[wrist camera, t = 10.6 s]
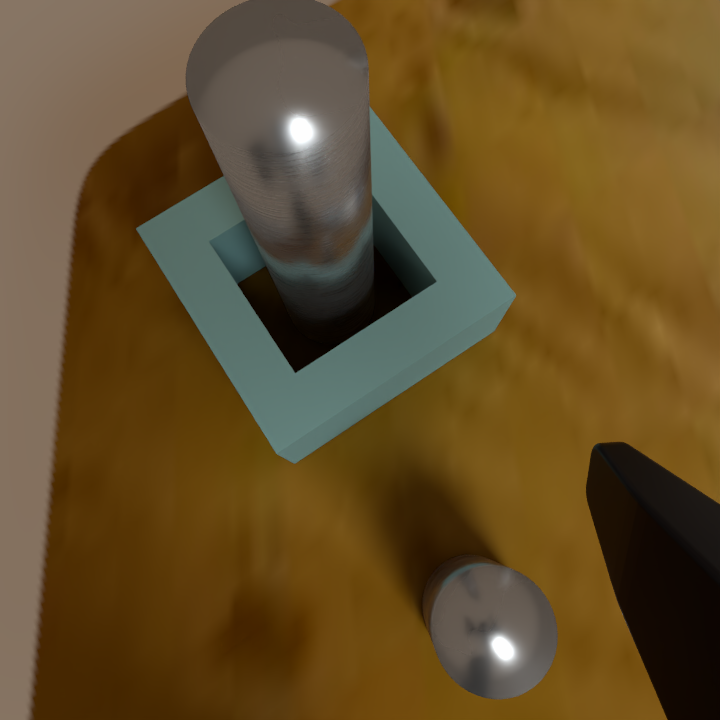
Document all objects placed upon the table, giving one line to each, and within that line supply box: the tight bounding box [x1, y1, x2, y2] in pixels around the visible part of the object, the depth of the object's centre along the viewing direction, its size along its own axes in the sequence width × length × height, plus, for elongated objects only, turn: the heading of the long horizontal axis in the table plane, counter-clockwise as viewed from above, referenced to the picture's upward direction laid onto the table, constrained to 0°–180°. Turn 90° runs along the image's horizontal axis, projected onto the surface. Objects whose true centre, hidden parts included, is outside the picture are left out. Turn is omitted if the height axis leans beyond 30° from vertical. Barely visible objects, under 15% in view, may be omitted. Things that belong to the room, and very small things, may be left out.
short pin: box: [422, 555, 557, 699], centre depth 19 cm, size 3×3×4 cm
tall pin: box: [186, 0, 375, 344], centre depth 18 cm, size 3×3×13 cm
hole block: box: [136, 106, 516, 464], centre depth 22 cm, size 9×9×4 cm
